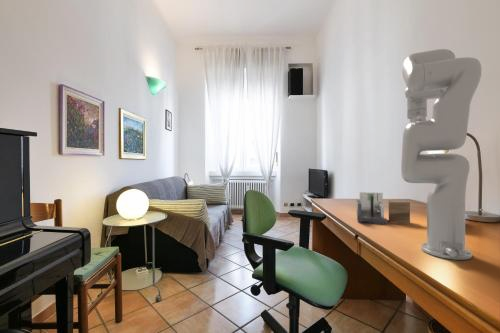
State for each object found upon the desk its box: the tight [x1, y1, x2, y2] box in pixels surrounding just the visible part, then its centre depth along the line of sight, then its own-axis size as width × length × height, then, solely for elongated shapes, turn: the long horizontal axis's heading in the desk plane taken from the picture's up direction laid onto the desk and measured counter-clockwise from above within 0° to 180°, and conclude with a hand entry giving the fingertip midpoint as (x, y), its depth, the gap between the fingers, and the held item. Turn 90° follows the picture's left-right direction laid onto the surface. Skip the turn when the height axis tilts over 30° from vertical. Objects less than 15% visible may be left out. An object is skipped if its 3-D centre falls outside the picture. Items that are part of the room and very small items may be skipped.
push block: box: [388, 199, 411, 225], centre depth 116 cm, size 4×8×10 cm, turn 69°
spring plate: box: [376, 203, 385, 218], centre depth 119 cm, size 8×3×6 cm, turn 159°
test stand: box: [356, 191, 387, 225], centre depth 120 cm, size 12×12×13 cm
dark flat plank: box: [371, 196, 374, 217], centre depth 123 cm, size 2×1×10 cm, turn 159°
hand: (417, 151), depth 114 cm, fingers open, 9 cm apart
